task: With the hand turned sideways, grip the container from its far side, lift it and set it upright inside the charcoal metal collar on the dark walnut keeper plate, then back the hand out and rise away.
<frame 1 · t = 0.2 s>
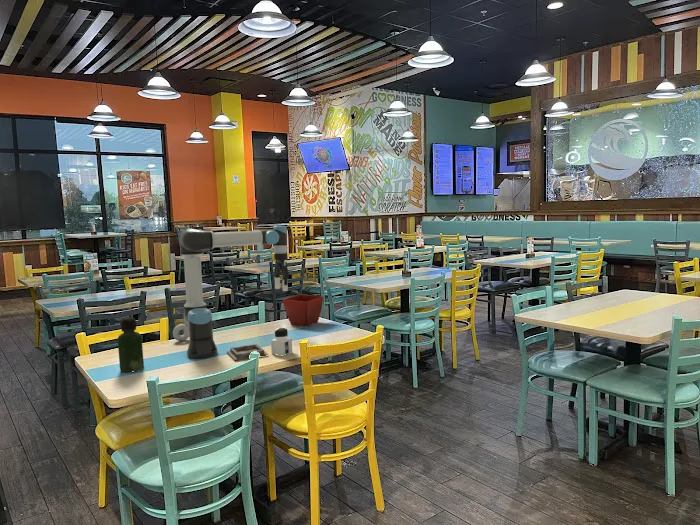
hand: (281, 289, 292), 27 cm above the table, tool pointing down, fingers open, 13 cm apart
keeper plate: (247, 354, 260), on the table
container: (282, 354, 260), on the table
plant pot: (304, 324, 325), on the table
donut: (182, 341, 292), on the table
dark green bottle: (132, 370, 242), on the table
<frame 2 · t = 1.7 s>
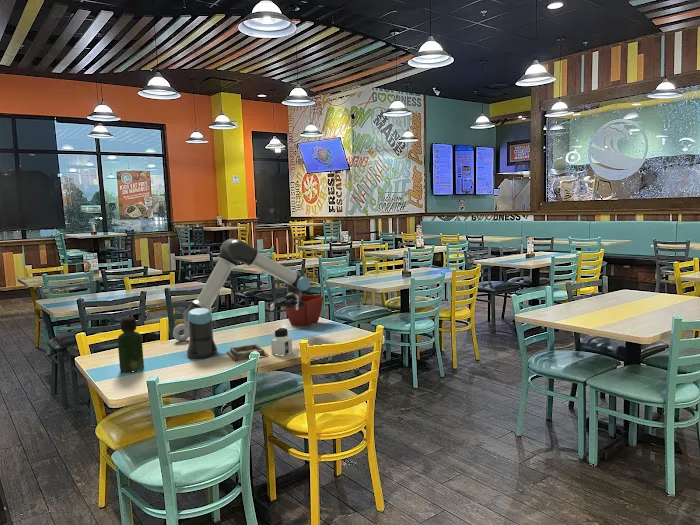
hand: (283, 308, 268), 22 cm above the table, tool horizontal, fingers open, 13 cm apart
nothing on the table moved.
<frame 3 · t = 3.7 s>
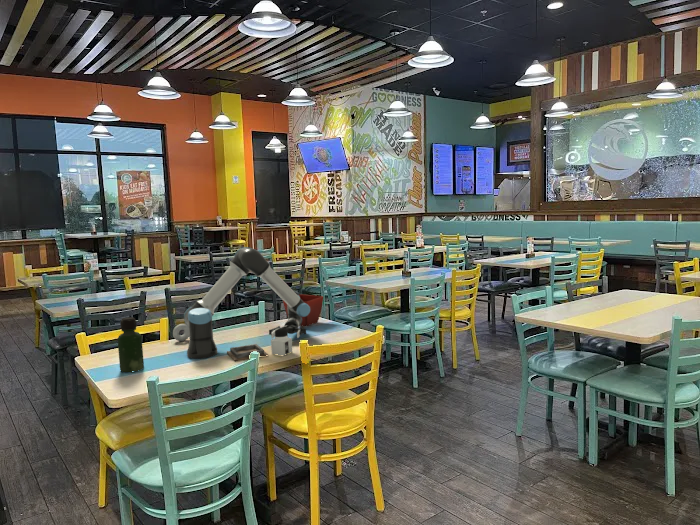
hand: (284, 335, 267), 7 cm above the table, tool horizontal, fingers open, 13 cm apart
nothing on the table moved.
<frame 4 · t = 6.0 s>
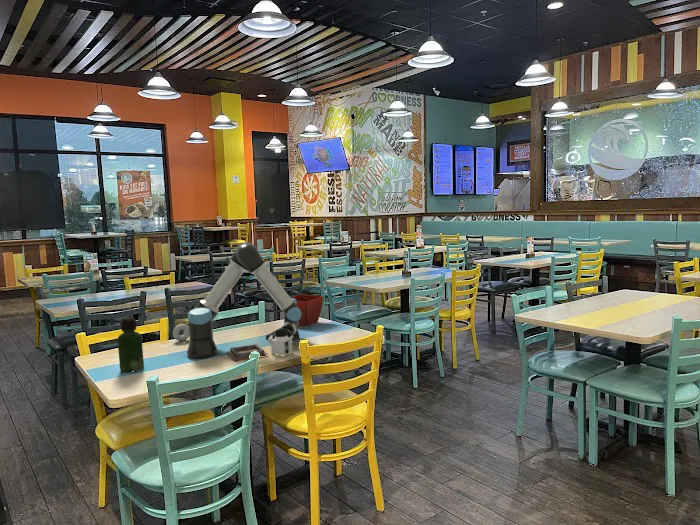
hand: (279, 341, 255), 8 cm above the table, tool horizontal, fingers closed on container, 10 cm apart
container: (282, 353, 260), on the table, touching gripper
everything else where it was.
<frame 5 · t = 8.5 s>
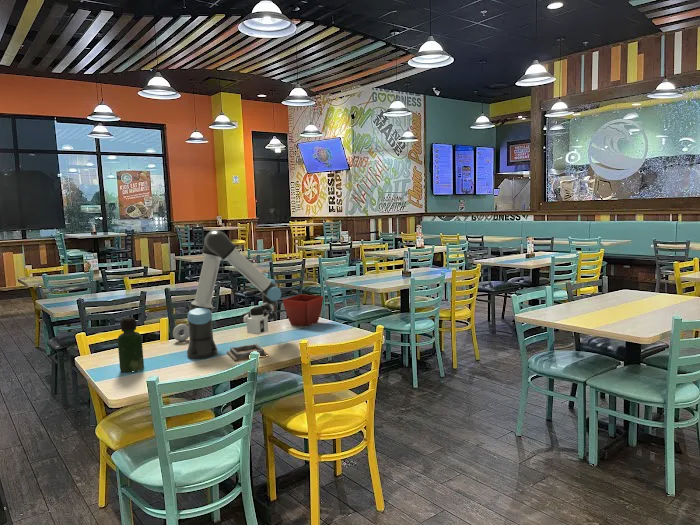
hand: (254, 319, 254), 19 cm above the table, tool horizontal, fingers closed on container, 10 cm apart
container: (257, 332, 260), point 11 cm above the table, touching gripper
everything else where it was.
when the fingers open (10 cm above the table, at t = 11.2 s): container drops 1 cm, resting on keeper plate.
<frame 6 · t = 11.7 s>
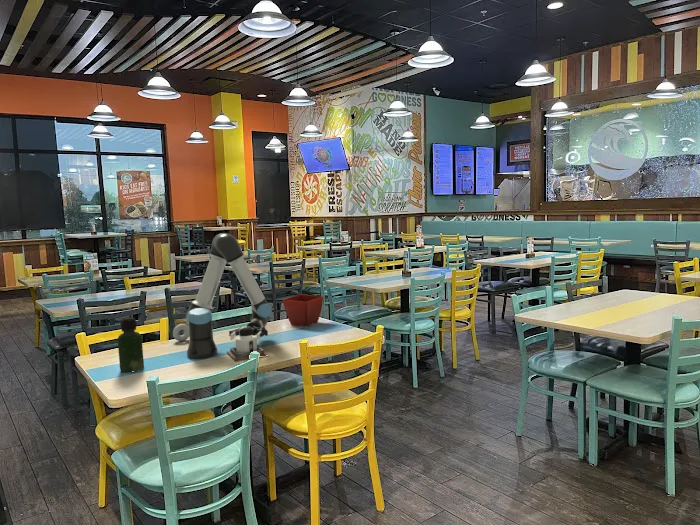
hand: (244, 337, 256), 10 cm above the table, tool horizontal, fingers open, 13 cm apart
container: (246, 353, 260), point 1 cm above the table, touching keeper plate
everything else where it was.
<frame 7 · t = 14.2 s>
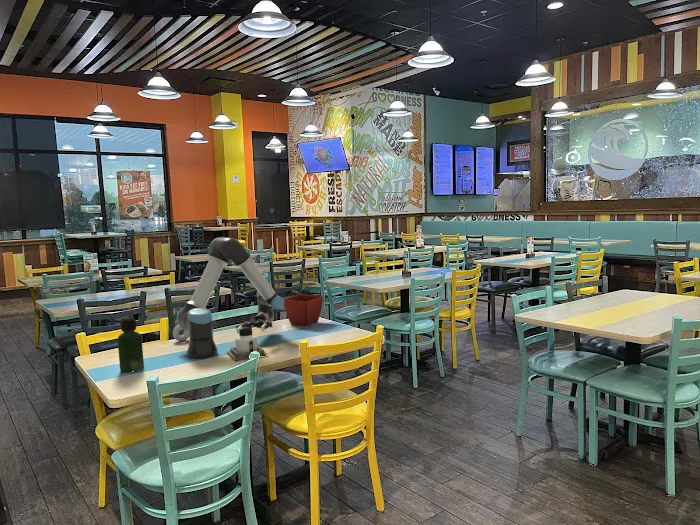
hand: (249, 330, 269), 10 cm above the table, tool horizontal, fingers open, 13 cm apart
nothing on the table moved.
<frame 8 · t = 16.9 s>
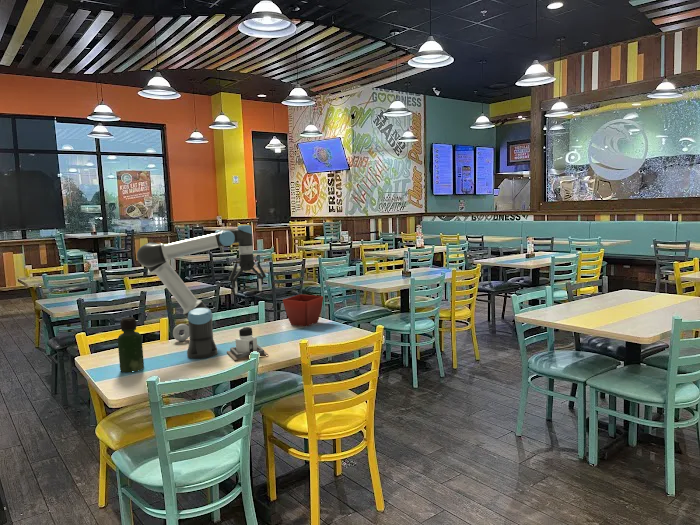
hand: (248, 292, 279), 29 cm above the table, tool pointing down, fingers open, 13 cm apart
nothing on the table moved.
at the end: container 0.1 cm off-centre on the keeper plate, point 0.8 cm above the keeper plate's base; container tilted 0°; the gripper is holding nothing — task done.
